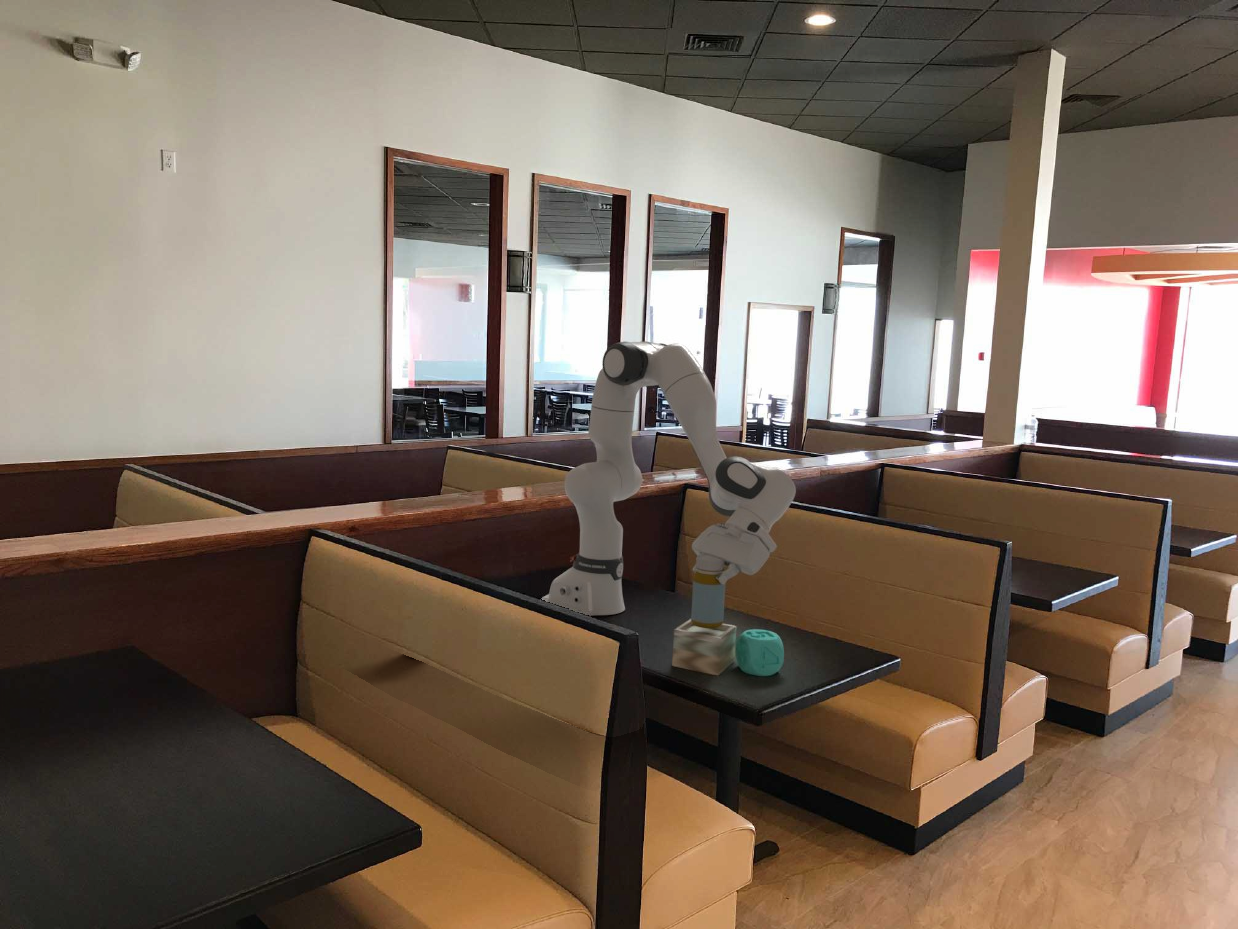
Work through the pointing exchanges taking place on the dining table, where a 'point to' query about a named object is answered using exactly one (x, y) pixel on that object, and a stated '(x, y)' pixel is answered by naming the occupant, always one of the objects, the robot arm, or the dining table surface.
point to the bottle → (708, 592)
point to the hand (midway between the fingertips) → (707, 577)
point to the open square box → (704, 647)
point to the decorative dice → (759, 652)
